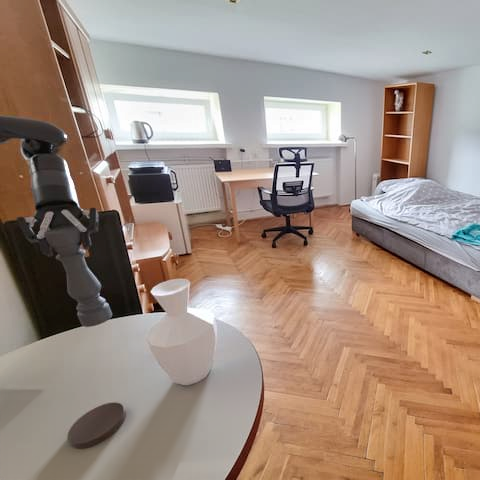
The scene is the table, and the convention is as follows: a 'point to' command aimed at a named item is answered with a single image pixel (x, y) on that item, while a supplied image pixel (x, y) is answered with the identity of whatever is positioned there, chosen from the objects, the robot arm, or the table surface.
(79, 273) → the candle holder
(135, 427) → the table surface
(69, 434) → the coaster
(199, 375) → the vase
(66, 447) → the table surface
